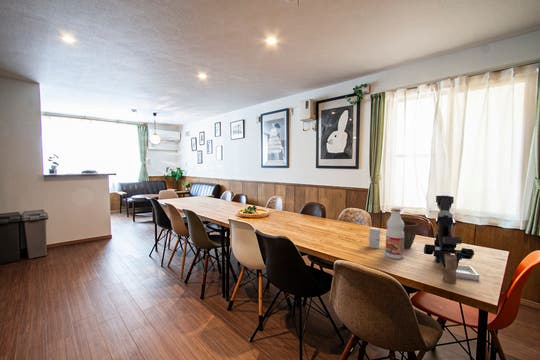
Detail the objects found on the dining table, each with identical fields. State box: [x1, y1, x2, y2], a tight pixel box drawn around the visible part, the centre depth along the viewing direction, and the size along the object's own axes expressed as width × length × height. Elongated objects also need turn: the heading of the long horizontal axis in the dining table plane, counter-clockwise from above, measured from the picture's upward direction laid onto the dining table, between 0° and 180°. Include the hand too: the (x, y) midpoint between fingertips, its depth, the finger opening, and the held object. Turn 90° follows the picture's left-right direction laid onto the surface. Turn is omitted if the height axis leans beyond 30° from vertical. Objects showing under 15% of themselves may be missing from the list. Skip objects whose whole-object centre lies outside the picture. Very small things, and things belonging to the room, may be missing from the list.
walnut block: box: [442, 253, 457, 285], centre depth 114 cm, size 4×4×12 cm
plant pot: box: [402, 219, 419, 249], centre depth 164 cm, size 15×15×16 cm
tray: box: [441, 263, 480, 281], centre depth 123 cm, size 12×12×2 cm
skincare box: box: [368, 227, 381, 249], centre depth 163 cm, size 6×4×12 cm
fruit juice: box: [385, 207, 405, 260], centre depth 145 cm, size 9×9×28 cm
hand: (450, 268), depth 112 cm, fingers closed on walnut block, 4 cm apart
